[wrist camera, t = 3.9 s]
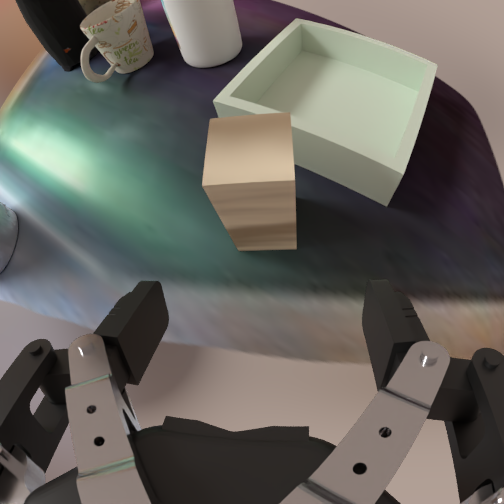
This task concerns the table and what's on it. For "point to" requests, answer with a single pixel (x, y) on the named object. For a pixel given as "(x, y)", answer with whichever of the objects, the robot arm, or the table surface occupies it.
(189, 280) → the table surface
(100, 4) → the decorative egg
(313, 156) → the bin
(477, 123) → the table surface
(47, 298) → the table surface
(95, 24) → the mug
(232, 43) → the milk bottle
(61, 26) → the portable speaker
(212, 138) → the birch block
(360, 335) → the table surface
